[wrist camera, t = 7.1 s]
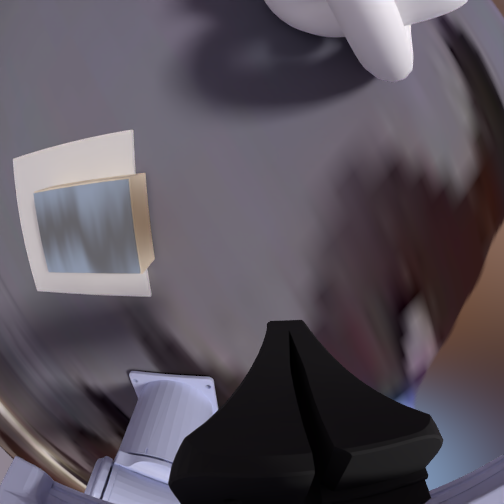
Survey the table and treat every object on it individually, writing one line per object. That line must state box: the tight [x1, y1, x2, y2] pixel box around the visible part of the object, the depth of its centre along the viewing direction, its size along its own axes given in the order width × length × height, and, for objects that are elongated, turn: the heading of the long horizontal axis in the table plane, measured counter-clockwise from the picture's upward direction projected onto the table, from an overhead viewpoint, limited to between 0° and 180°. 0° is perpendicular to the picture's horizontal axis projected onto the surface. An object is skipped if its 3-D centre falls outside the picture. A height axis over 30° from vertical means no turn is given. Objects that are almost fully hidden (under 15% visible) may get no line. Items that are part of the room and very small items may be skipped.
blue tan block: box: [33, 173, 155, 274], centre depth 17 cm, size 6×3×8 cm
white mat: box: [13, 130, 152, 297], centre depth 19 cm, size 12×12×1 cm
